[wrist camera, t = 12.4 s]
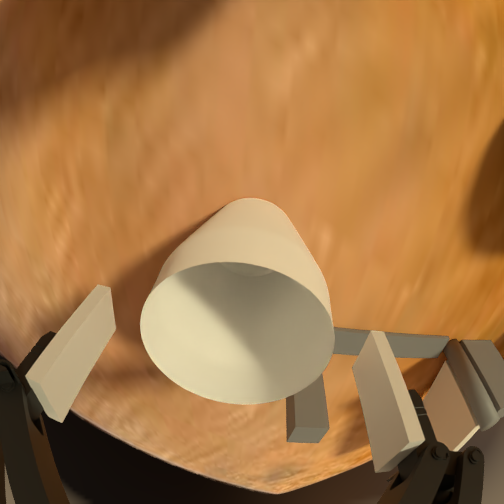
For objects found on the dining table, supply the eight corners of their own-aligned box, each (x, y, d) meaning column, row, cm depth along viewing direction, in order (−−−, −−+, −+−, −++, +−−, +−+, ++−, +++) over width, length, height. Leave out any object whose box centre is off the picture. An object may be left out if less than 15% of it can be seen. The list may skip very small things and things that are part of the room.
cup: (220, 297, 26) (191, 412, 15) (177, 203, 22) (101, 288, 12) (321, 271, 24) (350, 387, 13) (290, 165, 21) (312, 226, 10)
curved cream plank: (445, 360, 27) (475, 426, 18) (459, 357, 27) (491, 419, 18) (403, 429, 34) (417, 483, 25) (416, 427, 34) (431, 478, 25)
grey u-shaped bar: (291, 321, 27) (297, 437, 16) (492, 337, 27) (533, 403, 16) (283, 344, 28) (285, 454, 17) (481, 354, 28) (517, 420, 18)
